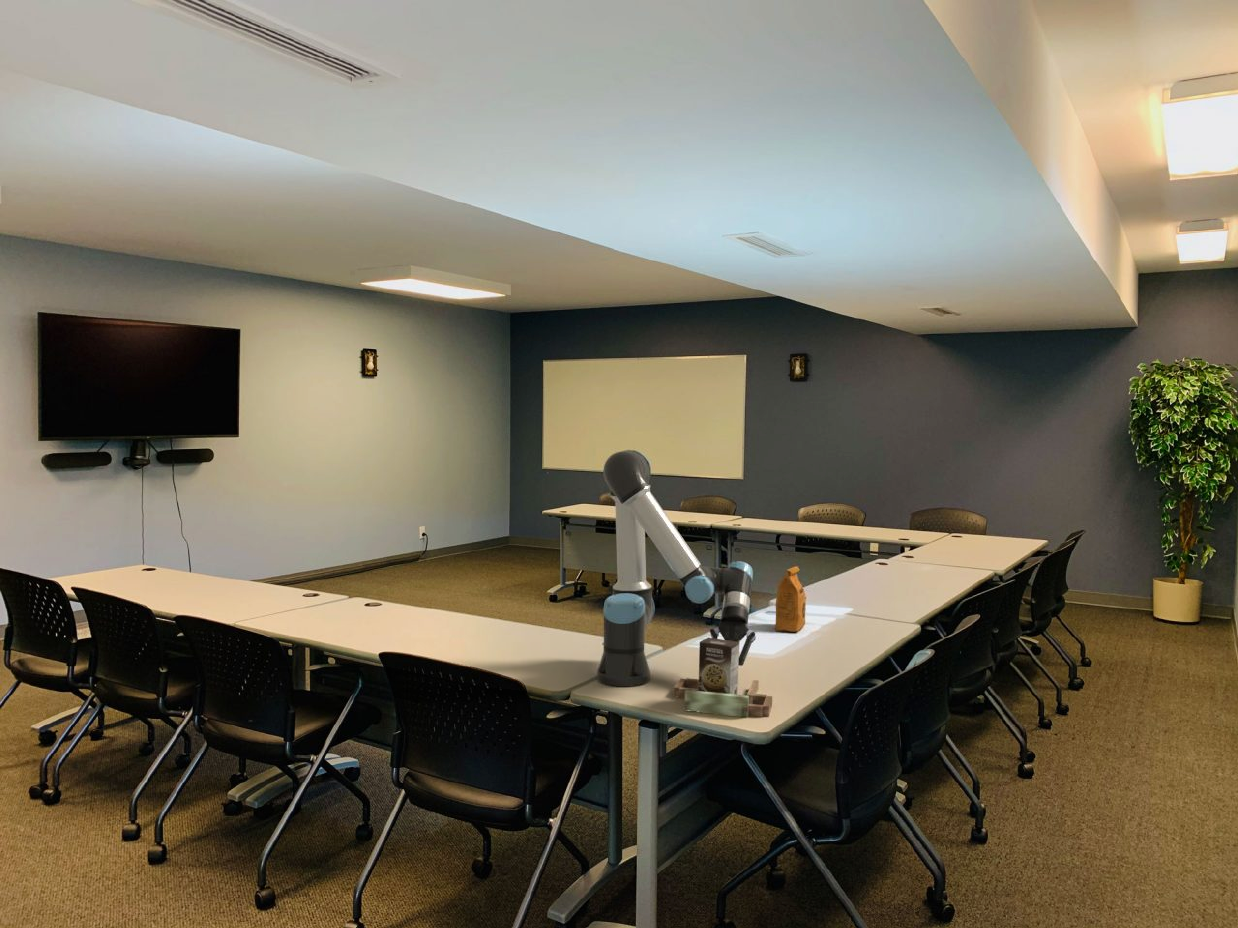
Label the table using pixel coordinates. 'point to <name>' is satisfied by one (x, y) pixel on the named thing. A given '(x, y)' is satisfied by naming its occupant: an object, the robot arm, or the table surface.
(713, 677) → the coffee box
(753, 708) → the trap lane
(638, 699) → the table surface
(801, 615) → the coffee package
